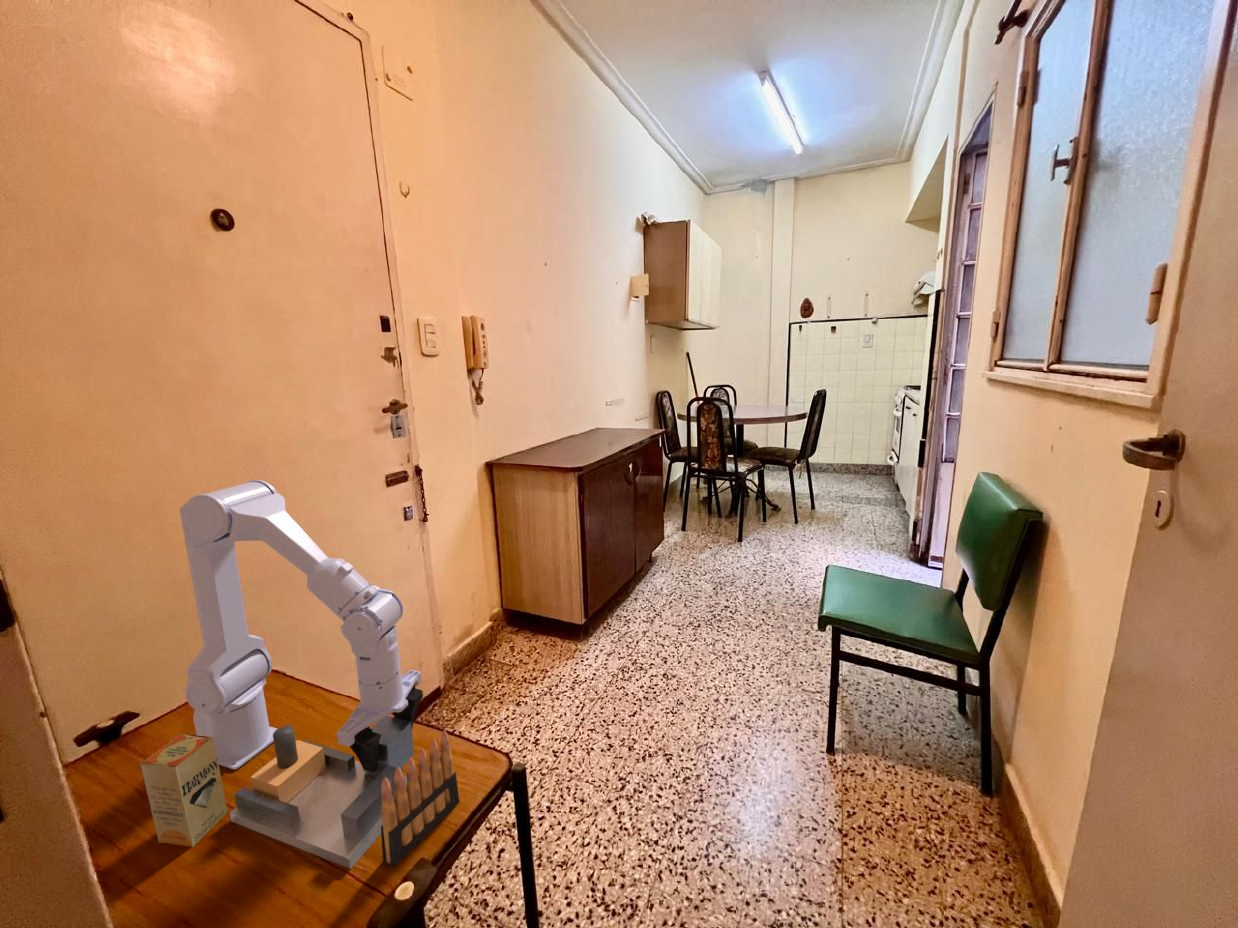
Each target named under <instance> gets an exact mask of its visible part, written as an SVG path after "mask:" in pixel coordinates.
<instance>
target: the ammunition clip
mask: <svg viewBox="0 0 1238 928" xmlns="http://www.w3.org/2000/svg"><path fill="white" fill-rule="evenodd" d="M439 742H440V743H439V745H440V750H439V747H438V744H437V741H436V740H435V738H432V739H431V741H430V745H429V761H428V757H427V753H426V751H425V749H424V748H423V747H421V748H420V749H419V753H418V758H417V766H418V769H417V766H416V764H415V761H414V759H413V757H412V758H411V757H409V759H408V762H407V763H406V773H405V775H406V776H407V785H406V786H405V781H404V776H405V775H404V772H403V773H402V771H401V769H402V768H401V769H400V768H399V767H397V768H396V771H395V776H394V787H395V788H394V792H395V794H394V799H393V795H392V789H391V785H390V782H389V780H388V779H387V778H386V777H385V778H384V779H383V782H382V787H381V796H382V807H381V814H382V823H383V825H381V834H380V836H381V837H380V839H381V852H382V861H383V862H384V863H385V864H387V866H388V867H390V868H395V867H396V866H397V865H398V864H399V863H400V862H401V861H402V860H403V859H404V858H405V857H406V856H407V855H408V854H409V853H410V852H411V851H412V850H413V849H414V848H415V847H416V846H417V845H418V844H419V843H420V842H421V841H422V840H423V839H424V838H425V837H426V836H427V835H428V834H429V833H430V832H431V831H432V830H433V829H434V828H435V827H436V826H437V825H438V824H439V823H440V822H441V821H442V820H443V819H444V818H445V817H446V816H447V815H448V814H449V813H451V811H452V810H453V809H454V808H456V806H457V805H458V804H459V803H460V797H459V795H460V794H459V788H458V779H457V773H456V772H455V771H454V761H453V760H454V759H453V755H452V754H453V753H452V752H451V750H452V749H451V745H450V739H449V735H448V733H447V732H446V730H445V729H443V730H442V732H441V735H440V741H439ZM417 771H418V772H417ZM403 775H404V776H403Z"/></svg>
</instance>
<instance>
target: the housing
mask: <svg viewBox="0 0 1238 928" xmlns="http://www.w3.org/2000/svg"><path fill="white" fill-rule="evenodd" d="M369 728H370V729H372V732H375V733H378V734H382V735H381V737H380V740H379V745H378V768H381V769H385V768H386V767H387V766H388V765H390V766H393V767H399V768H400V769H403V767H404V766H405V765H407V762H408V759H409V757H411V758H412V759H413V757H414V755H415V751H414V747H415V746H414V738H413V728H412V727H411V722H409V721H405V720H402V719H398V718H394V716H391V715H388V716H386V717H384V718H382V719H381V720H379V721H377V722H375V723H374V724H373V725H371V726H370V727H369Z"/></svg>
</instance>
